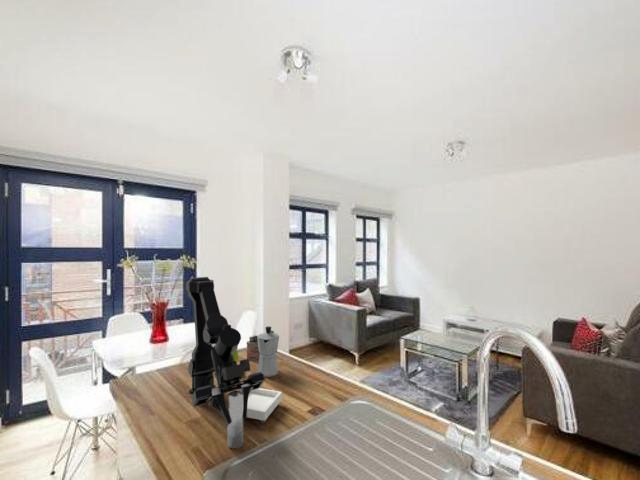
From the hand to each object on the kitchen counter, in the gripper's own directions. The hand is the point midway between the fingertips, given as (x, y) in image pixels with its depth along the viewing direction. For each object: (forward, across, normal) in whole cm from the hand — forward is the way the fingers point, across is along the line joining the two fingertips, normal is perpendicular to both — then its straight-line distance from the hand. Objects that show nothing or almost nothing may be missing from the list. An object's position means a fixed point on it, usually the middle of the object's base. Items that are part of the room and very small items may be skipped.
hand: (237, 421), depth 81 cm
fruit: (-27, +12, +37) cm, 48 cm away
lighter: (-31, +26, +41) cm, 58 cm away
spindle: (+4, 0, +6) cm, 7 cm away
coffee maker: (-21, +26, +31) cm, 45 cm away
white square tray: (-4, +10, +13) cm, 17 cm away
